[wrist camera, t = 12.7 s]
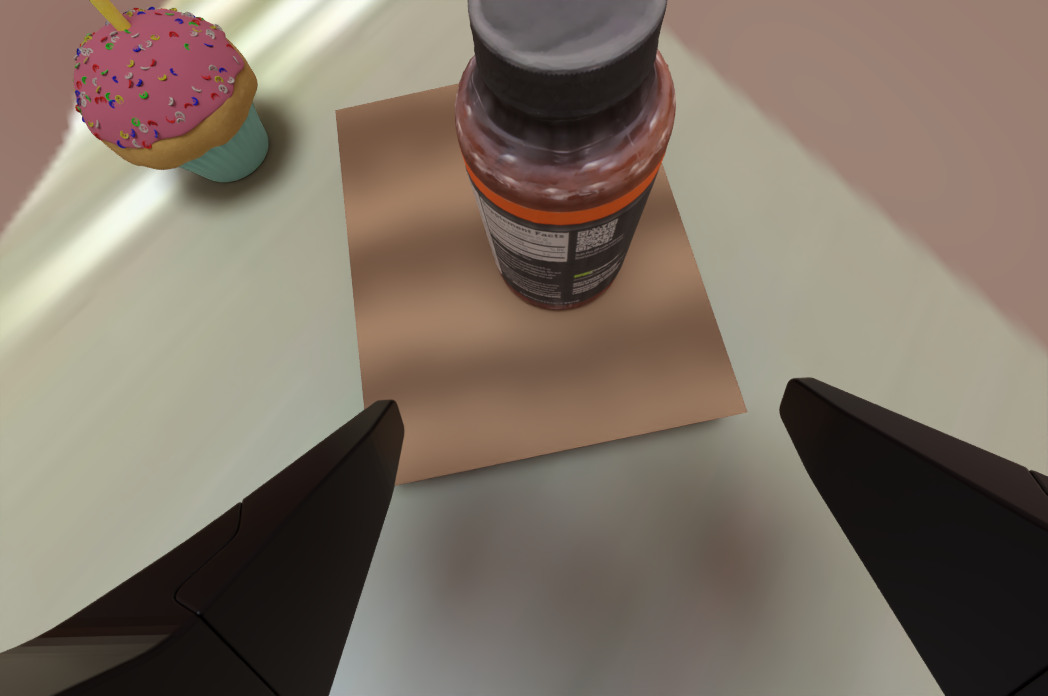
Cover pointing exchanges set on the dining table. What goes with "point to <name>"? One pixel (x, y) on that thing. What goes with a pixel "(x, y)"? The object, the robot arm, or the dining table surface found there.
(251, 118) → the cupcake
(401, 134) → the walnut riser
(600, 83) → the supplement bottle
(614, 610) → the dining table surface
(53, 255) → the dining table surface
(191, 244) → the dining table surface
